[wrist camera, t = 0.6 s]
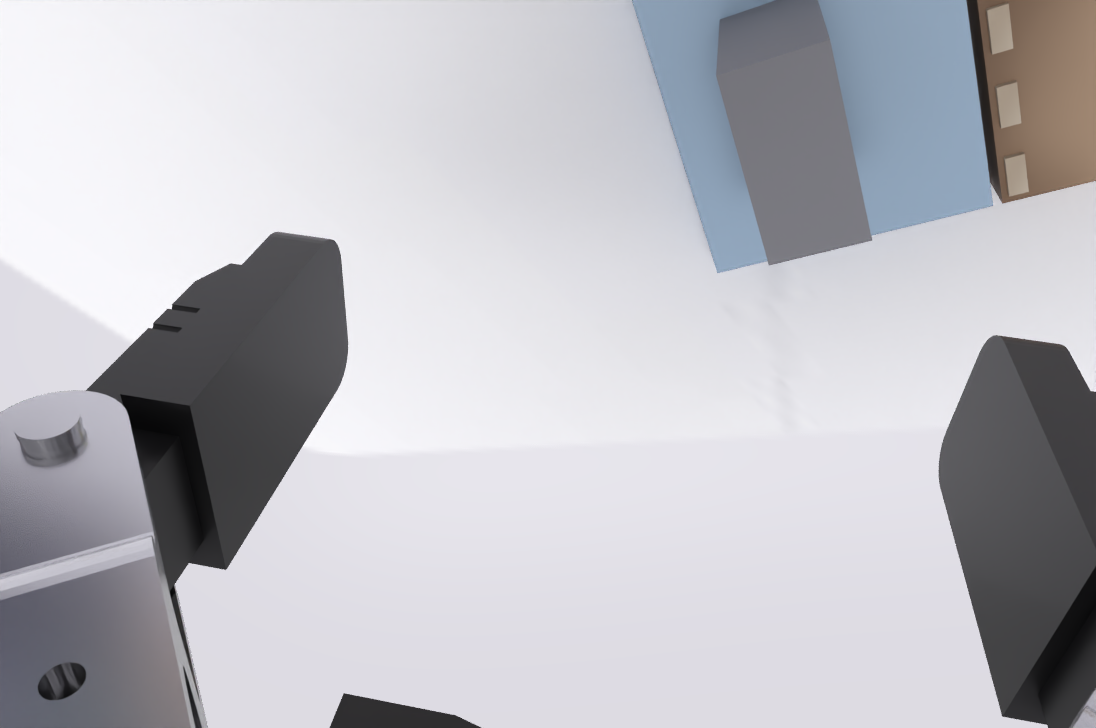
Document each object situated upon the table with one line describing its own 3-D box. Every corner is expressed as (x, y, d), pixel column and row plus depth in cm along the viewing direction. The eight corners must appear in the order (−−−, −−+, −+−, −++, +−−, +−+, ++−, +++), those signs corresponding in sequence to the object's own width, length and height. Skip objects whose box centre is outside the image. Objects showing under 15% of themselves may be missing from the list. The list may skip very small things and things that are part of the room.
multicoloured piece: (932, -178, 26) (993, -152, 20) (982, 185, 32) (1040, 292, 26) (622, -57, 30) (592, -3, 23) (718, 252, 35) (714, 361, 29)
